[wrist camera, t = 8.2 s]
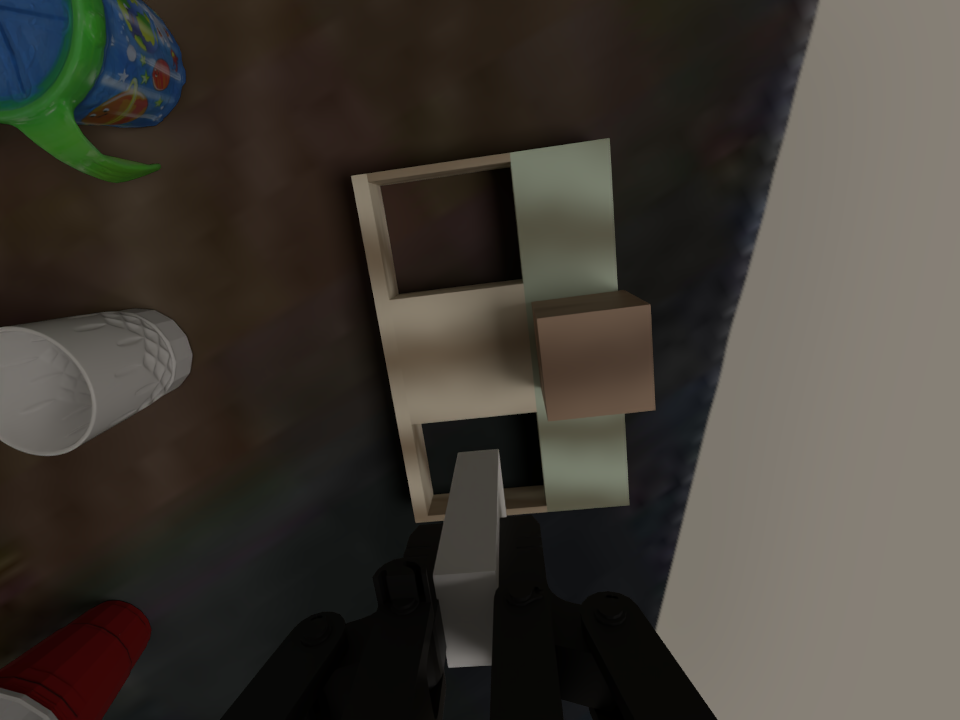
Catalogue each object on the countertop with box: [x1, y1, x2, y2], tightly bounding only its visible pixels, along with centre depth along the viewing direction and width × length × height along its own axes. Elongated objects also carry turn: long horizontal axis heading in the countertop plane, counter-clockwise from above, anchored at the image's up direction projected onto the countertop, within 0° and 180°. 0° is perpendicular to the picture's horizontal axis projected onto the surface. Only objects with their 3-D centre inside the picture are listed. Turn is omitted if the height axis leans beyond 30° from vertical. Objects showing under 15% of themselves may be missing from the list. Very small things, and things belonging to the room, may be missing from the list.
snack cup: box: [0, 0, 186, 183], centre depth 27 cm, size 16×10×10 cm
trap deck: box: [351, 138, 629, 523], centre depth 34 cm, size 25×16×3 cm, turn 7°
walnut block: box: [531, 290, 655, 422], centre depth 29 cm, size 6×6×6 cm
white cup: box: [0, 308, 193, 456], centre depth 32 cm, size 8×8×10 cm
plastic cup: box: [0, 601, 151, 720], centre depth 39 cm, size 11×11×12 cm
